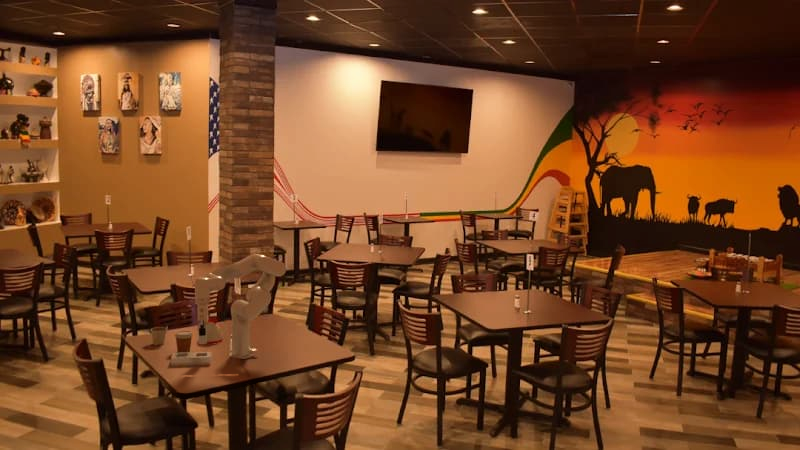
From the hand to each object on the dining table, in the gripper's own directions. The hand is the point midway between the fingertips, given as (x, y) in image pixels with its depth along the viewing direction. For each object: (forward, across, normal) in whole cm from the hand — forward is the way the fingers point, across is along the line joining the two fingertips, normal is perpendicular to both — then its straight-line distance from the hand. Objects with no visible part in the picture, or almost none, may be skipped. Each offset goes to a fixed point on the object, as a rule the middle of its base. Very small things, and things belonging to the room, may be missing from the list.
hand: (202, 333), depth 362 cm
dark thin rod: (+16, -7, +5) cm, 18 cm away
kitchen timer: (+17, +44, -1) cm, 47 cm away
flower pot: (+16, +40, +28) cm, 51 cm away
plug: (+5, 0, 0) cm, 5 cm away
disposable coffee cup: (+16, +19, +12) cm, 27 cm away
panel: (+16, 0, +6) cm, 17 cm away
